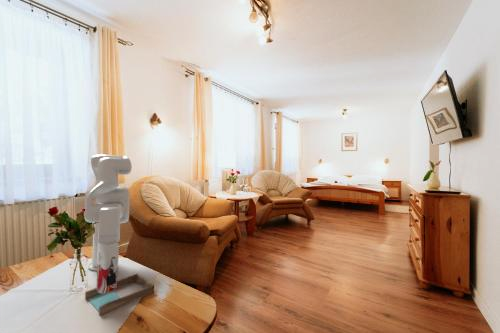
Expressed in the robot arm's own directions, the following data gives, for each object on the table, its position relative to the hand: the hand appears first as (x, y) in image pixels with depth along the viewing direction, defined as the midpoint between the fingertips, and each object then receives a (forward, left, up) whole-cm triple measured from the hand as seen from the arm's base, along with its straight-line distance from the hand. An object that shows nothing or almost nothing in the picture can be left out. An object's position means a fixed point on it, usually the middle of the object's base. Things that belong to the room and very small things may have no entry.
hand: (107, 281), depth 93 cm
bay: (0, +6, -8) cm, 10 cm away
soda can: (0, 0, -4) cm, 4 cm away
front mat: (0, 0, -8) cm, 8 cm away
